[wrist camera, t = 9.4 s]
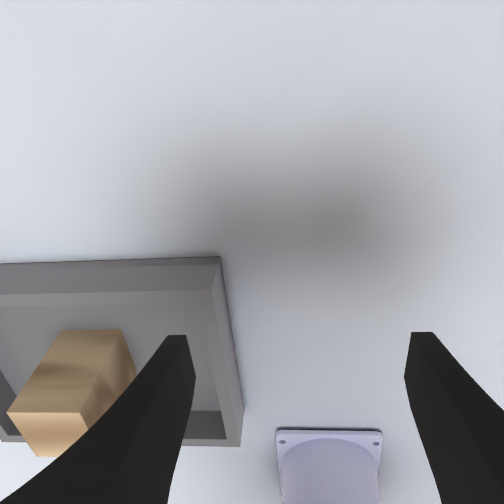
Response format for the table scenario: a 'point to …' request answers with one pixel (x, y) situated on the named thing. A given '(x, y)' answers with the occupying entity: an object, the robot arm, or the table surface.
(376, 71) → the table surface
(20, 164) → the table surface
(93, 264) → the tray
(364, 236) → the table surface
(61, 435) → the maple block
